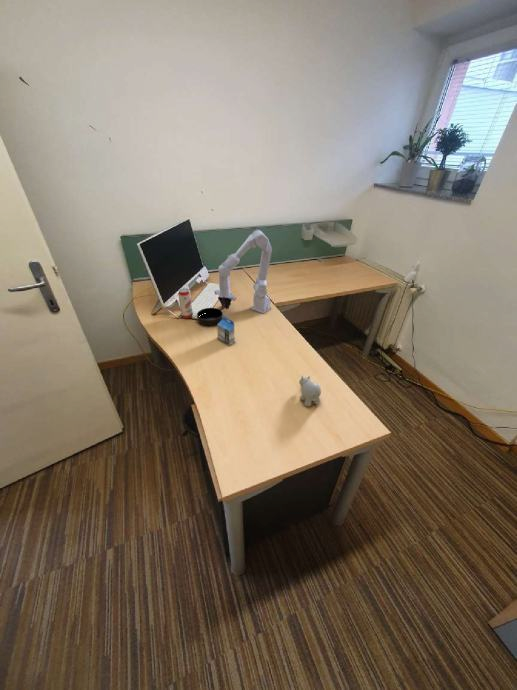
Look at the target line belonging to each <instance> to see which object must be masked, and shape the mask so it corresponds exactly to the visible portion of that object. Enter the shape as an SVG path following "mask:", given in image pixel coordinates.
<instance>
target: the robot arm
mask: <svg viewBox="0 0 517 690" xmlns="http://www.w3.org/2000/svg"><path fill="white" fill-rule="evenodd" d="M269 239H270V238H268V237H267V236H266V234H265V233H264V232H263V231H262V230H260V229H255V230H253V231H252V233H251V234H250V235H248V236H247V238H246V239H245V241H244V242H243V243H242V244H241V245H240V247H239V248H238V249H237V251H236V252H235V253H231V254H229V255H227V258H226V260H225V261H224V262H222V263H221V264H220V265H219V266H218V268H217V272H218V282H219V285H218V286H219V290H218V289H215V290H214V295H218V297H217V299H218V301H219V302H220V305H221V306H222V305H224V304H225V307H226V308H225V310H229V309H230V306H231V305H230V303H231V302H232V301H233V302H235V301H237V296H236V295H234V294H232V293H231V282H230V275H231V272H232V271H233V270H234V268H235V267H236V266H237V265H238V264H239V263H240V259H241V258H242V257H243V256H244V255H245V254H246V253H247V252H248V251H249V250H250V249H255V248H257V247H259V248H260V249H261V256H260V260H259V267H258V271H257V278H256V279H255V282H254V284H253V287H252V288H253V290H254V292H253V306H252V307H250V310H252V311H254V312H255V311H256V312H259V313H260V314H264V313H266V312H267V311H269V310H270V309H271V298H270V297H269V296H268V295H267V294H268V289H267V287H268V285H267V278H268V272H269V267H270V263H271V257H272V252H273V247H272V245H271V243H270V240H269ZM231 304H232V303H231Z"/></svg>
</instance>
